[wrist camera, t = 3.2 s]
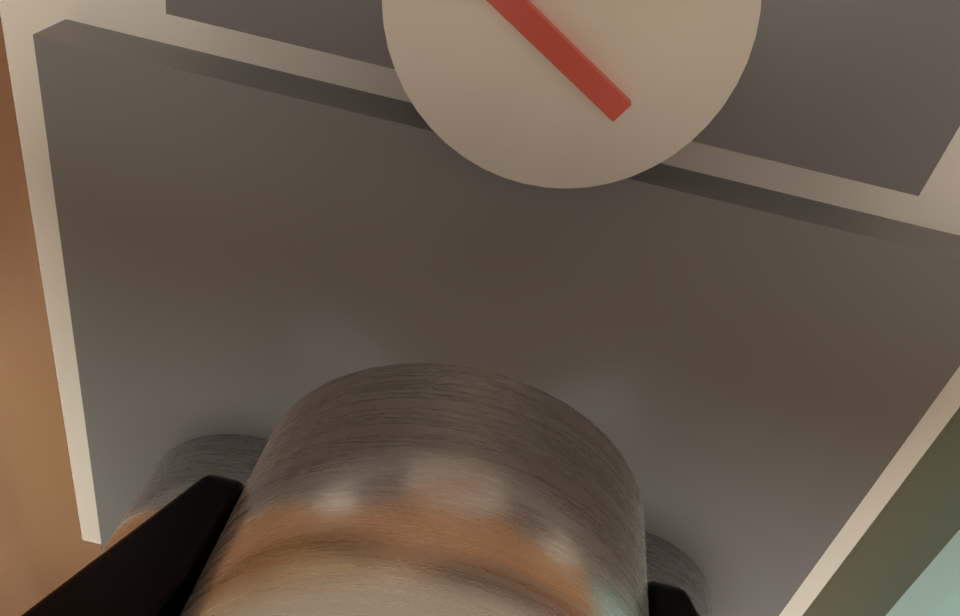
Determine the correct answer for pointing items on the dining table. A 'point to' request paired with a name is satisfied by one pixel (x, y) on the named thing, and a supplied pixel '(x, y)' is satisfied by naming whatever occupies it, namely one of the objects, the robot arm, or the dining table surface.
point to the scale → (515, 237)
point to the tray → (907, 546)
